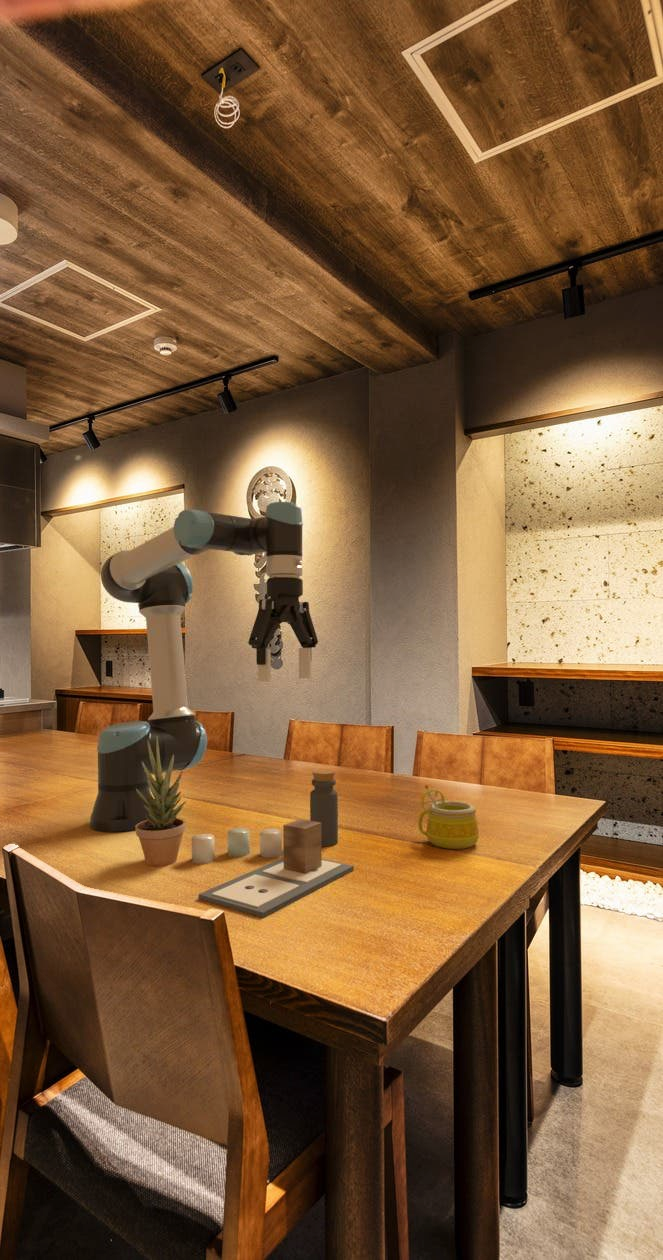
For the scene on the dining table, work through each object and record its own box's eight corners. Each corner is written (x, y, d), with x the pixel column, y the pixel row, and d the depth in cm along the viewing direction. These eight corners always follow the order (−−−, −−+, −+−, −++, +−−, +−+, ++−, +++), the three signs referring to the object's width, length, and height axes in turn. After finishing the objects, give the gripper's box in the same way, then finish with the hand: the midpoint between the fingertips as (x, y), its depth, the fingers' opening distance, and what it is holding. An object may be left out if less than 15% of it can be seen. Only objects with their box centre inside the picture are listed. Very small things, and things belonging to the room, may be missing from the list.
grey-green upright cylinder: (223, 854, 136) (223, 831, 136) (237, 848, 140) (237, 826, 140) (239, 858, 134) (239, 835, 134) (254, 852, 138) (254, 829, 138)
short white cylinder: (255, 855, 135) (255, 832, 136) (269, 849, 139) (269, 827, 139) (272, 859, 133) (272, 836, 133) (286, 853, 137) (286, 830, 137)
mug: (484, 839, 145) (483, 783, 145) (472, 854, 135) (471, 794, 135) (426, 833, 150) (425, 778, 150) (410, 846, 140) (410, 788, 140)
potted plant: (132, 857, 135) (132, 733, 135) (180, 850, 139) (180, 730, 139) (139, 872, 126) (138, 739, 126) (190, 865, 129) (189, 736, 130)
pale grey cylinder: (186, 861, 132) (186, 838, 132) (203, 855, 136) (202, 832, 136) (203, 865, 130) (203, 841, 130) (219, 858, 133) (219, 836, 134)
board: (198, 898, 113) (198, 892, 113) (294, 856, 134) (293, 851, 134) (263, 917, 105) (263, 910, 105) (353, 870, 126) (353, 864, 126)
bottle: (335, 847, 140) (334, 774, 140) (307, 845, 141) (307, 773, 142) (340, 839, 146) (339, 769, 146) (313, 837, 147) (313, 768, 147)
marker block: (283, 868, 124) (283, 824, 124) (300, 861, 128) (299, 818, 128) (305, 873, 121) (305, 828, 121) (321, 866, 125) (321, 822, 126)
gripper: (259, 571, 129) (260, 683, 128) (333, 580, 149) (334, 677, 149) (230, 574, 133) (230, 682, 133) (305, 582, 153) (306, 676, 153)
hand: (285, 679), depth 141 cm, fingers open, 13 cm apart
